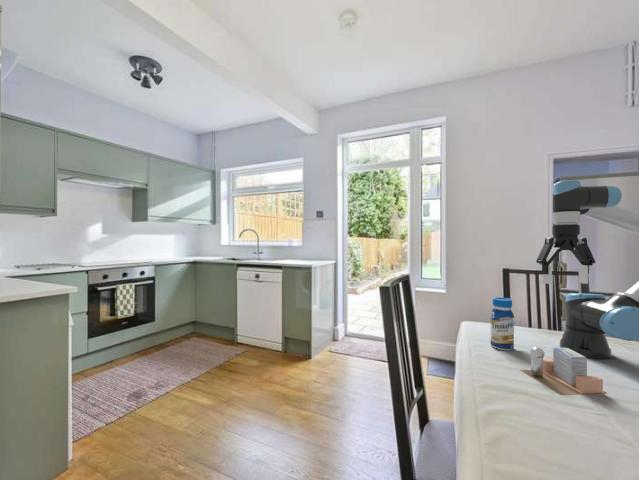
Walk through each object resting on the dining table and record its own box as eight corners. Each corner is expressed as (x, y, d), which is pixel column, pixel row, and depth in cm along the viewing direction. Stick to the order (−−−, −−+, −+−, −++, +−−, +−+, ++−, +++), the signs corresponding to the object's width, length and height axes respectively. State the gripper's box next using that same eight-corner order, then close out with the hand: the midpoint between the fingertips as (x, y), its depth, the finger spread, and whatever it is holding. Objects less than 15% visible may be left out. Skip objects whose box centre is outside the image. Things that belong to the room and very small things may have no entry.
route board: (559, 372, 96) (559, 369, 96) (607, 397, 81) (607, 393, 81) (519, 373, 96) (519, 370, 96) (560, 398, 81) (560, 394, 81)
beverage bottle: (514, 346, 120) (514, 298, 120) (514, 352, 113) (515, 301, 113) (490, 342, 125) (490, 295, 125) (489, 348, 118) (490, 299, 118)
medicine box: (587, 387, 84) (588, 357, 84) (570, 386, 85) (571, 356, 85) (568, 374, 92) (568, 347, 92) (552, 373, 92) (552, 346, 92)
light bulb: (537, 373, 94) (537, 345, 94) (547, 378, 90) (547, 349, 90) (527, 373, 93) (527, 345, 93) (536, 378, 90) (536, 349, 90)
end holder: (559, 370, 95) (559, 358, 95) (604, 393, 81) (604, 379, 81) (539, 371, 95) (539, 359, 95) (580, 394, 81) (581, 379, 81)
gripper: (588, 225, 108) (587, 281, 108) (524, 224, 107) (524, 281, 107) (609, 224, 101) (608, 284, 101) (541, 223, 99) (541, 285, 99)
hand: (565, 283), depth 104 cm, fingers open, 13 cm apart
